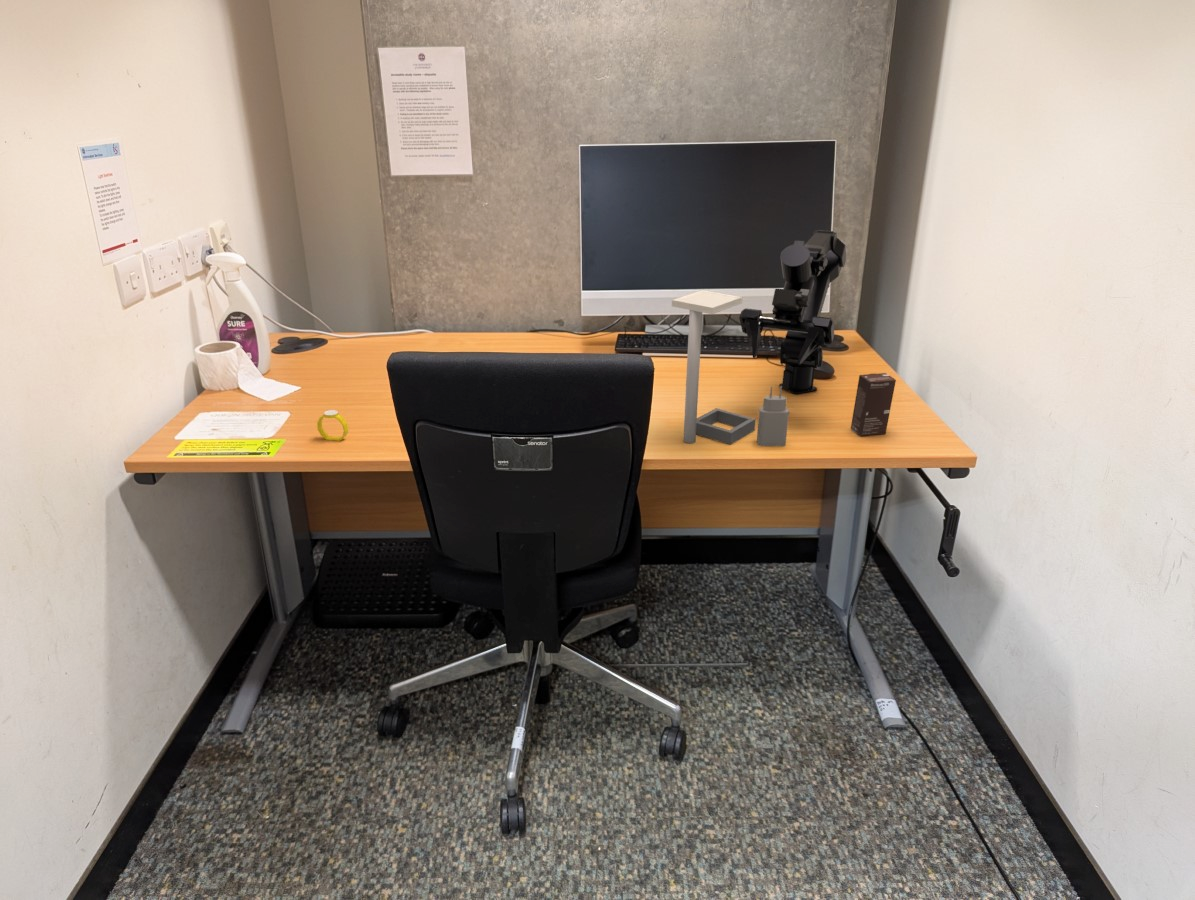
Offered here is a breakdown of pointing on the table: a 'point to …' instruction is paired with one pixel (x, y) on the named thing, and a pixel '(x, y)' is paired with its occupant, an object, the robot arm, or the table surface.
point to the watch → (332, 415)
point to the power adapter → (773, 421)
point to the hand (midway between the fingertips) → (776, 360)
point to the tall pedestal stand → (702, 424)
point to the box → (872, 404)
